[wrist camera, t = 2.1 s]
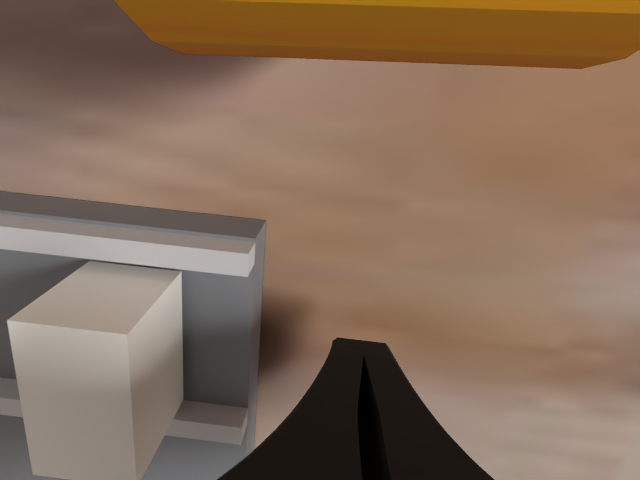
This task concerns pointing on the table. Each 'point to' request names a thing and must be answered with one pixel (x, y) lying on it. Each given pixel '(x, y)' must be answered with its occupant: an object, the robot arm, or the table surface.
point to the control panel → (197, 315)
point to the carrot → (398, 30)
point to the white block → (100, 370)
